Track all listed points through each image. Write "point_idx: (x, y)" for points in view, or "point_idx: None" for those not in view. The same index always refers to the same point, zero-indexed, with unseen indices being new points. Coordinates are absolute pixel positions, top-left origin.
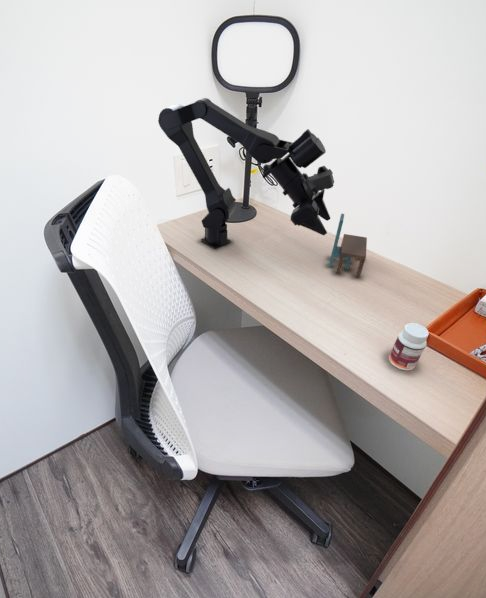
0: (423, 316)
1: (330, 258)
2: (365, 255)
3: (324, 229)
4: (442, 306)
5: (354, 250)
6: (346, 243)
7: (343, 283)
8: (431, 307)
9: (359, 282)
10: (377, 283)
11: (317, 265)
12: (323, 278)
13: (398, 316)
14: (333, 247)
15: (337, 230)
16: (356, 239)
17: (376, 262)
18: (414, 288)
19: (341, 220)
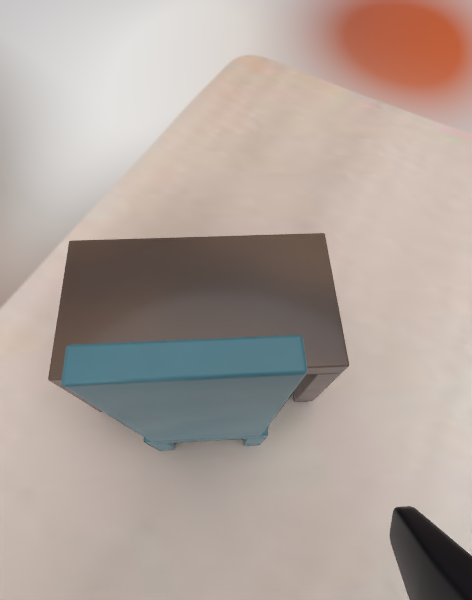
0: (419, 125)
1: (173, 449)
2: (314, 235)
3: (462, 550)
4: (337, 86)
5: (282, 292)
6: None
7: (375, 355)
8: (359, 107)
9: None
10: None
11: (270, 512)
12: (386, 453)
13: (467, 178)
14: (263, 429)
15: (252, 407)
16: (120, 292)
17: None
18: (273, 137)
19: (305, 355)
